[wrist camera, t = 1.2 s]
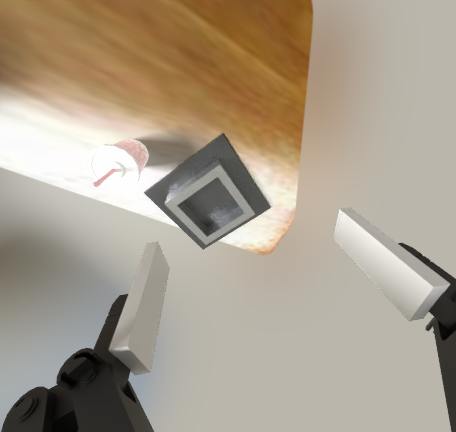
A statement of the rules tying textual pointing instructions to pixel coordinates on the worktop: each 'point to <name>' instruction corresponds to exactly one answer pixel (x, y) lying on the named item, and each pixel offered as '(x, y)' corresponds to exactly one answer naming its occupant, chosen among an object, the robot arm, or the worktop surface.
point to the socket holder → (209, 194)
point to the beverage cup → (118, 164)
